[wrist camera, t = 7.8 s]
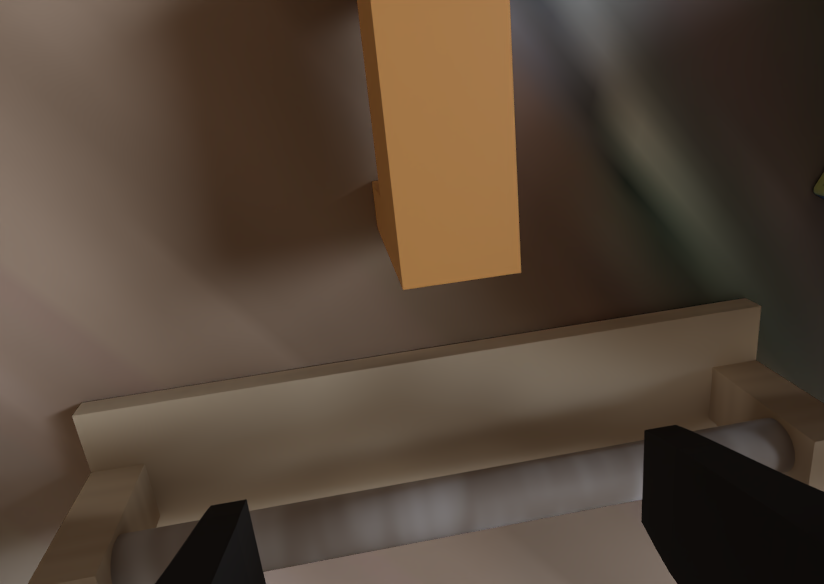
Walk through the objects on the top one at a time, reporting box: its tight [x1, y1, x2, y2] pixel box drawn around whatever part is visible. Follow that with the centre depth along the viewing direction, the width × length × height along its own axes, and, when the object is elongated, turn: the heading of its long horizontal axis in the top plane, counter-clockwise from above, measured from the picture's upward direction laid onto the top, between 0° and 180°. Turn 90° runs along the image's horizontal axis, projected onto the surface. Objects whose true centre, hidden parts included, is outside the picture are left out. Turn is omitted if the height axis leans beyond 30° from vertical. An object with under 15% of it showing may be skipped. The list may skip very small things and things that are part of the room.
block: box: [357, 0, 521, 290], centre depth 15 cm, size 8×3×6 cm, turn 6°
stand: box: [28, 298, 824, 584], centre depth 19 cm, size 6×22×5 cm, turn 96°
